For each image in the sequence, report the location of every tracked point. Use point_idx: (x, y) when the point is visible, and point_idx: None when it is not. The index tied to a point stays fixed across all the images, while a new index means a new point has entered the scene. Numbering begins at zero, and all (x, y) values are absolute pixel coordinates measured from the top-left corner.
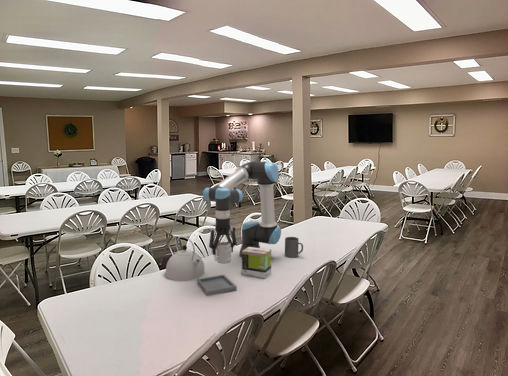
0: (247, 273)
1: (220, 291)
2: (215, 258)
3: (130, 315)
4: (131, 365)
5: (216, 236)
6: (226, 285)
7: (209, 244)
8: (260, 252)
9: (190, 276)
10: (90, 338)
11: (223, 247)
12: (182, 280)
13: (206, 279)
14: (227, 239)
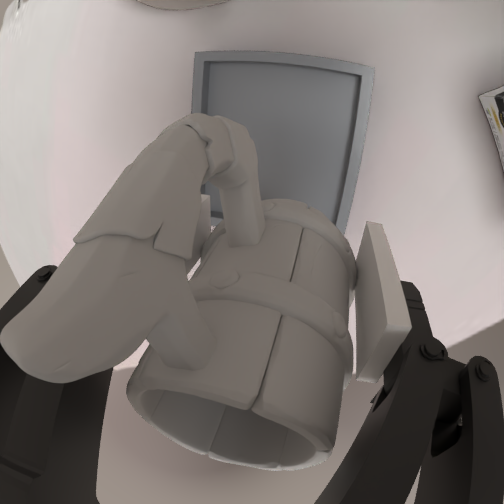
0: (495, 130)
1: None
2: None
3: (32, 211)
4: None
5: (19, 456)
6: (319, 181)
7: (21, 298)
8: None
9: (183, 2)
10: (15, 250)
11: (191, 426)
12: (157, 7)
13: (249, 61)
14: (354, 473)
